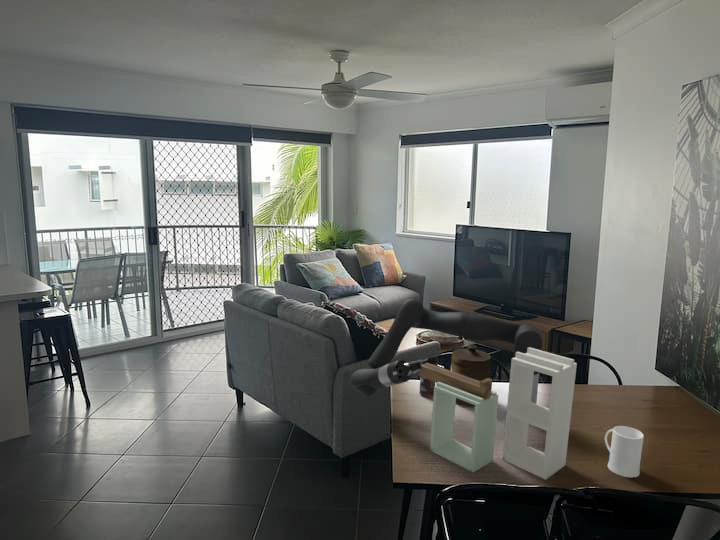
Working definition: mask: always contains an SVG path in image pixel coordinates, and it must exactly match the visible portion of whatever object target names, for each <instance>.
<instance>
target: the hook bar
mask: <svg viewBox="0 0 720 540" xmlns="http://www.w3.org/2000/svg"><path fill="white" fill-rule="evenodd" d="M421 367H422V368H421V369H419V371H418V376H419V377H420V376H421V377H423V378H426V379H428V380H431V381H434V382H435V384H436V383H437V382H441V383H444V384H447V385H449V386H452V387H454V388H457V389H460V390H462V391H465V392H468V393H470V394H473V395H475V396H478V397H481V398H483V399H484V400H485V399H487V398H490V397H491V391H492V387H493V379H492V378H487V379H485V380H482V381H478V380H475V379H472V378H469V377H466V376H464V375H461V374H458V373H455V372H452V371H451V370H449V369H446V368H443V367H440V366H438V365H435V364H430V363H425V364H422V365H421Z"/></svg>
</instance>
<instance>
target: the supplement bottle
mask: <svg viewBox="0 0 720 540" xmlns="http://www.w3.org/2000/svg"><path fill="white" fill-rule="evenodd" d="M419 379H420V380H419V394H420V396H423V397H426V398H432V397H434V386H436V382H434V381H431V380H428V379H426V378H423V377H421V376H419Z"/></svg>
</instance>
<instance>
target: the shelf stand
mask: <svg viewBox="0 0 720 540" xmlns="http://www.w3.org/2000/svg"><path fill="white" fill-rule="evenodd" d="M510 362H511V363H510V371H509V372H510V374H509V383H508V384H509V385H508V395H507V403H506V404H507V406H506V418H505V427H504V429H505V430H504V437H503V439H504V440H503V449H502V457H501V458H502V459H501V460H503V461H504V462H507V463H509V464H511V465H512V466H516V467H517V468H520V469H522V470H523V471H527V473H530V474H532V475H534V476H536V477H539V478H540V479H543V480H545V481H546V480H548V479H549V478H551V476H553V475H554V474H556V473H557V472H559V470H561V469H563V467H565V466H566V463H567V453H568V444H569V435H570V427H571V419H572V411H573V409H572V408H573V399H574V393H575V383H576V382H575V381H576V376H577V375H576V374H577V365H578V364H577V362H575V359H573V358H570V357H567V356H562V355H558V354H555V353H552V352H548V351H545V350H544V351H543V350H542V351H541V350H538V349H534V348H531V347H529V348H527V353H525V354H524V353H521V352H516V354H515V357H514V358H513V357H512V358H511V361H510ZM534 371H537V372H539V374H540V373H541V374H543V375H546V376H547V375H548V376H550V377H552V378H551V379H552V380H551V387H550V388H551V389H550V397H549V407H545V406H543V405H540V404H538V403H536V404H535V403H532V402H531V396H532V386H533V376H534ZM529 425H531V426H534V427H536V428H538V429H541V430H543V431H546V437H545V445H544V451H540V450H538V449H536V448H533V447H531V446H529V445H527V444H528V435H529Z"/></svg>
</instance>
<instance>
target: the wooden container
mask: <svg viewBox="0 0 720 540" xmlns="http://www.w3.org/2000/svg"><path fill="white" fill-rule="evenodd" d="M491 361H492V358H491V355H490V354H489V353H487V352H486V351H484V350H480V349H477V345H475V344H474V343H470V344H468V345H467V348H458V349H454V350H453V351H452V352H451V361H450V362H451V363H450V371H452V372H455V373H458V374H461V375H464V376H466V377H469V378H472V379H475V380H478V381H482V380H485V379H487V378H489V379H491V378H490V376H491V374H490V373H491ZM455 405H458V406H461V407H466V408H475V405H473V404H471V403H468V402H466V401H463V400H461V399H458V398H456V404H455Z"/></svg>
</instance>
